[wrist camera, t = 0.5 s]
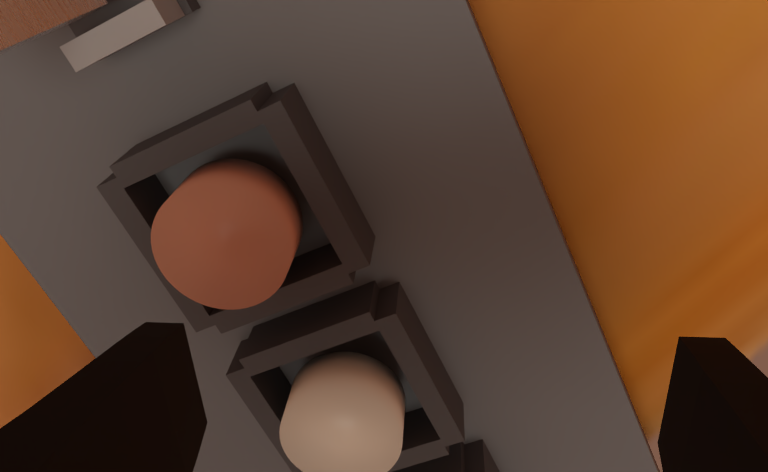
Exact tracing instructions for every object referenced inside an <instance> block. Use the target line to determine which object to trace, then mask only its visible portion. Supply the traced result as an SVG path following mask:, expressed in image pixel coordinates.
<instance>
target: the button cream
mask: <svg viewBox="0 0 768 472" xmlns="http://www.w3.org/2000/svg"><path fill="white" fill-rule="evenodd" d="M405 401H406V399H405V392H404V389H403V386H402V384H401V382H400V380H399V379H398V377H397V376H396V375H395V374H394V372H393V371H392V370H391V369H389V368H388V367H387V366H386V365H385V364H383V363H382V362H380V361H378V360H376V359H374V358H372V357H370V356H367V355H364V354H360V353H355V352H333V353H327V354H324V355H321V356H319V357H316V358H314V359H313V360H311V361H309V362H308V363H307V364H305V365H304V366H303V367H302V368H301V369H300V370H299V372H298V373H297V375H296V377H295V379H294V381H293V384H292V388H291V391H290V394H289V397H288V401H287V404H286V407H285V410H284V414H283V417H282V420H281V424H280V430H279V435H280V442H281V445H282V448H283V450H284V452H285V454H286V455H287V457H288V458H289V459H290V461H291V462H292V463H293V464H294V465H295V466H296V467H297V468H299V469H300V470H301V471H302V472H388V471H389V470H390V469H391V468H392V467H393V466H394V465H395V463H396V462H397V460H398V459H399V456H400V454H401V450H402V443H403V430H404V417H405Z"/></svg>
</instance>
